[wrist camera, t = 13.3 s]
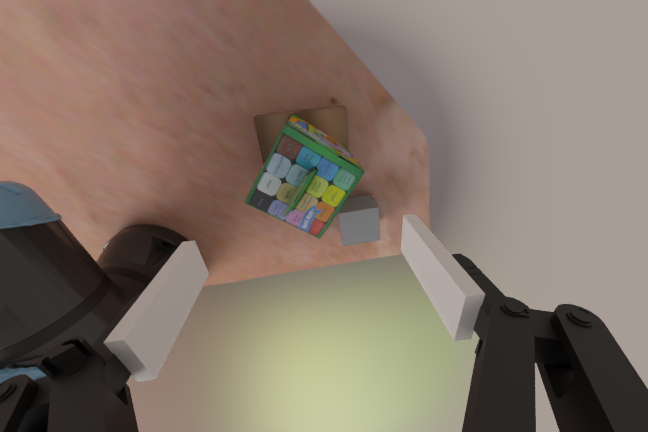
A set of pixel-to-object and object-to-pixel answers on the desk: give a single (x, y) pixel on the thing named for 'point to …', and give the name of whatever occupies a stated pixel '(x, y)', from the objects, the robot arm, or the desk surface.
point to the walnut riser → (322, 119)
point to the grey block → (359, 220)
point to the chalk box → (305, 178)
